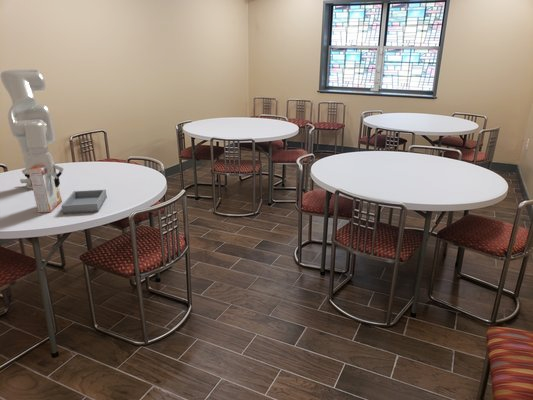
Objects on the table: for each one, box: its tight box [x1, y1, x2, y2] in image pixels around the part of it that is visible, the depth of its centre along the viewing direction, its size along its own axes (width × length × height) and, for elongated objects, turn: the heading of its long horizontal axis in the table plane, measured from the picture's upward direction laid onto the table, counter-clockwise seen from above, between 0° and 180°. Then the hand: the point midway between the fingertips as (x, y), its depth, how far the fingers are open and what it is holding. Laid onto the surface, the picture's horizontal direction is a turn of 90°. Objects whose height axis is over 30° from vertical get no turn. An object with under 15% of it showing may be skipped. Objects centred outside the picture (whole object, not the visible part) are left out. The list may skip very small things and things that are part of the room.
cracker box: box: [28, 166, 63, 214], centre depth 187 cm, size 14×6×21 cm, turn 5°
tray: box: [61, 189, 108, 215], centre depth 193 cm, size 15×20×4 cm
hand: (46, 186), depth 187 cm, fingers open, 9 cm apart
